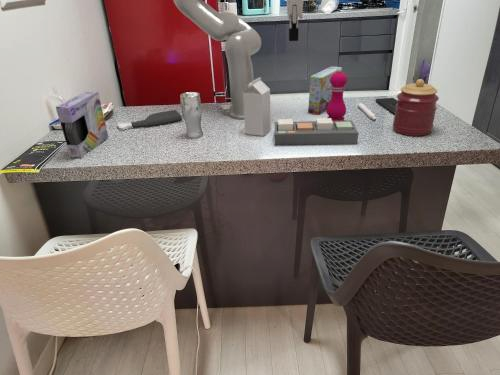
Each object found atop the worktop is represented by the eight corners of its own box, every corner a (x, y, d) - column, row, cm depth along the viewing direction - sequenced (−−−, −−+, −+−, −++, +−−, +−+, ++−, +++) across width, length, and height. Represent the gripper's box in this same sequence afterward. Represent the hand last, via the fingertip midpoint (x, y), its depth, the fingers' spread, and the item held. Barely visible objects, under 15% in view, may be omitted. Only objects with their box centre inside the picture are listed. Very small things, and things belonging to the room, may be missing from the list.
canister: (385, 131, 130) (392, 80, 122) (401, 121, 138) (409, 73, 130) (423, 139, 122) (433, 85, 114) (437, 128, 131) (448, 77, 122)
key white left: (278, 135, 125) (278, 124, 124) (278, 129, 130) (278, 119, 128) (293, 134, 125) (293, 123, 123) (292, 129, 129) (292, 119, 128)
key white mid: (317, 134, 124) (317, 123, 123) (315, 129, 129) (316, 118, 127) (332, 133, 124) (333, 123, 122) (330, 128, 128) (331, 118, 127)
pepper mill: (345, 125, 137) (350, 70, 128) (325, 125, 139) (328, 70, 129) (345, 119, 143) (349, 65, 134) (326, 118, 145) (329, 65, 135)
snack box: (320, 115, 149) (322, 77, 141) (307, 113, 152) (308, 76, 144) (340, 101, 164) (342, 66, 157) (328, 100, 167) (330, 65, 160)
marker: (377, 121, 140) (378, 115, 139) (371, 122, 140) (372, 115, 139) (362, 107, 156) (362, 102, 155) (357, 107, 156) (357, 102, 155)
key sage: (336, 137, 125) (337, 127, 123) (334, 132, 129) (335, 122, 127) (351, 137, 124) (352, 126, 122) (349, 132, 129) (350, 121, 127)
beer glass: (196, 130, 140) (191, 90, 132) (208, 134, 135) (204, 93, 128) (181, 136, 136) (175, 95, 128) (192, 140, 131) (187, 98, 124)
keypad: (274, 145, 124) (274, 133, 122) (274, 132, 134) (274, 121, 132) (357, 144, 122) (358, 132, 120) (350, 131, 132) (351, 119, 130)
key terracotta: (297, 138, 126) (297, 128, 124) (296, 133, 130) (297, 122, 128) (312, 138, 125) (312, 127, 123) (311, 133, 130) (311, 122, 128)
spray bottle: (183, 122, 150) (121, 135, 141) (176, 115, 159) (117, 126, 150) (182, 115, 148) (119, 128, 140) (175, 108, 157) (115, 119, 149)
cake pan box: (81, 160, 121) (65, 106, 112) (67, 159, 122) (50, 106, 113) (110, 138, 137) (98, 90, 129) (98, 137, 138) (85, 90, 129)
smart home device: (394, 112, 144) (374, 98, 161) (393, 116, 145) (374, 102, 162) (415, 111, 144) (393, 97, 162) (414, 115, 145) (392, 101, 163)
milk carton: (270, 130, 137) (269, 77, 128) (263, 136, 131) (261, 82, 122) (253, 127, 140) (251, 76, 130) (245, 134, 134) (242, 81, 125)
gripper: (307, -19, 116) (305, 43, 125) (304, -20, 129) (302, 37, 138) (283, -18, 116) (283, 44, 125) (282, -19, 130) (282, 38, 138)
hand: (293, 40), depth 132 cm, fingers closed
